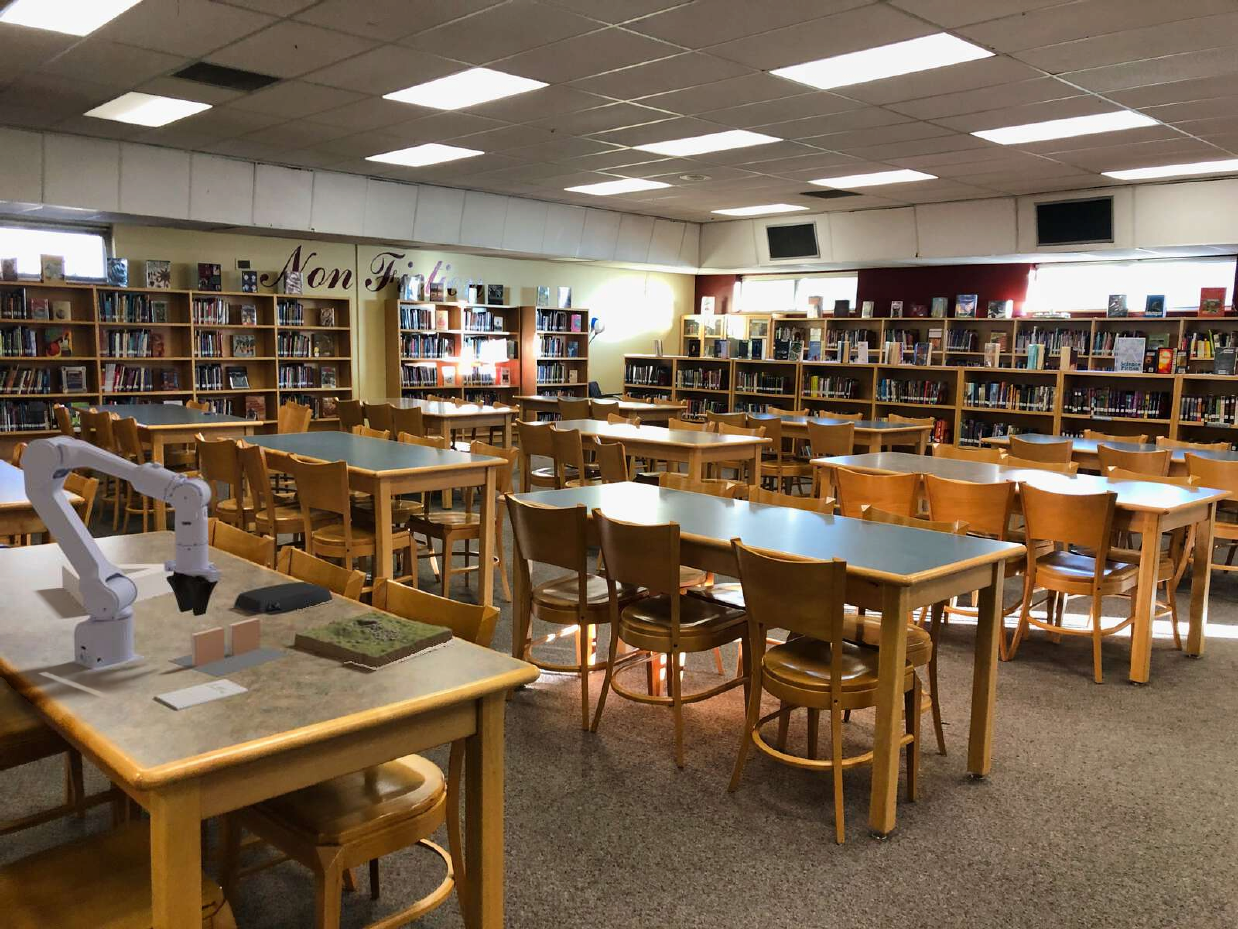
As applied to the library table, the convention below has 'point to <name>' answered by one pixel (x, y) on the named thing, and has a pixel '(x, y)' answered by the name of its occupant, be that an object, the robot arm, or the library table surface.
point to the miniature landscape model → (372, 638)
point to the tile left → (207, 646)
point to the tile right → (244, 636)
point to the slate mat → (233, 661)
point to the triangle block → (144, 575)
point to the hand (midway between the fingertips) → (192, 612)
